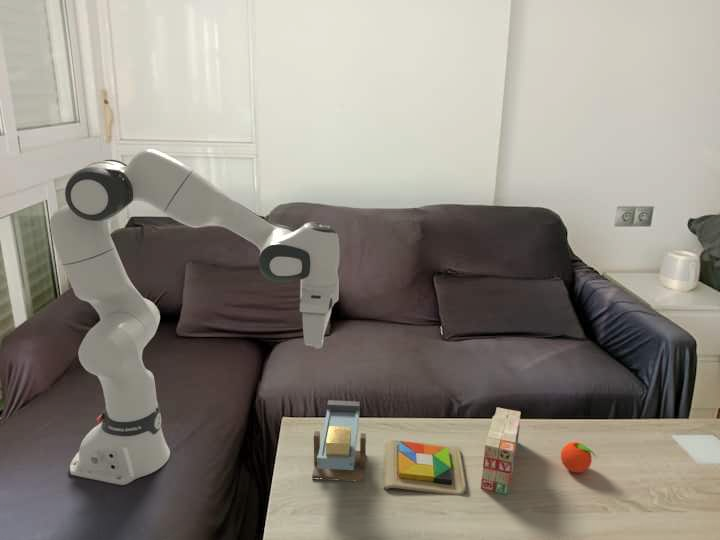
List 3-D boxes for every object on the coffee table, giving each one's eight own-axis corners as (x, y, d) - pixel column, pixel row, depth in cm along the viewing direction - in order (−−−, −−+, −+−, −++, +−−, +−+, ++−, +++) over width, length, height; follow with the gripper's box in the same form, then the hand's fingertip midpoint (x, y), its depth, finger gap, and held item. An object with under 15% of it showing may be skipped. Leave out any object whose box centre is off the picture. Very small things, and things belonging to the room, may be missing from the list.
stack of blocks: (493, 437, 149) (497, 396, 145) (518, 442, 147) (523, 401, 143) (480, 489, 130) (484, 444, 126) (508, 496, 128) (513, 450, 124)
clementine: (595, 467, 138) (600, 442, 136) (592, 484, 132) (596, 458, 130) (561, 456, 142) (565, 432, 139) (556, 473, 136) (560, 447, 134)
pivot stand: (317, 452, 142) (316, 421, 139) (366, 454, 141) (366, 423, 139) (311, 479, 133) (311, 446, 130) (364, 481, 132) (364, 449, 129)
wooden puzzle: (466, 497, 128) (467, 484, 127) (382, 492, 129) (383, 480, 128) (458, 449, 145) (459, 437, 144) (384, 445, 146) (384, 434, 145)
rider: (329, 444, 130) (329, 426, 129) (351, 445, 130) (351, 427, 128) (326, 461, 125) (325, 442, 123) (348, 463, 124) (349, 443, 123)
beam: (328, 411, 145) (328, 400, 144) (359, 412, 145) (359, 401, 143) (317, 468, 124) (316, 456, 123) (353, 470, 124) (353, 458, 123)
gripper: (312, 276, 141) (312, 327, 146) (298, 308, 122) (298, 365, 126) (338, 278, 141) (336, 328, 145) (327, 310, 122) (326, 367, 126)
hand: (318, 346), depth 136 cm, fingers closed
